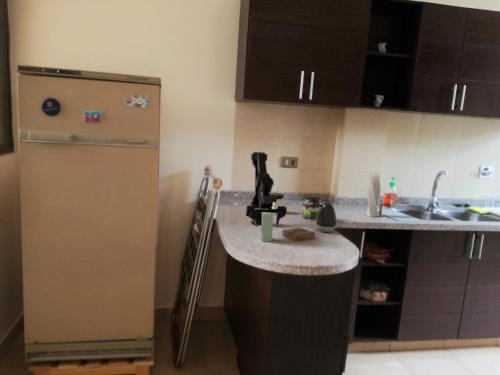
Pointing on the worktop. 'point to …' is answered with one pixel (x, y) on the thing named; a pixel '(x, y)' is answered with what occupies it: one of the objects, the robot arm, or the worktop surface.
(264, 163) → the robot arm
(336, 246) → the worktop surface
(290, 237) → the walnut riser
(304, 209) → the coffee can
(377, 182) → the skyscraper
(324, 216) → the dark rounded piece
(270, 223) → the green block
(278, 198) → the jar
